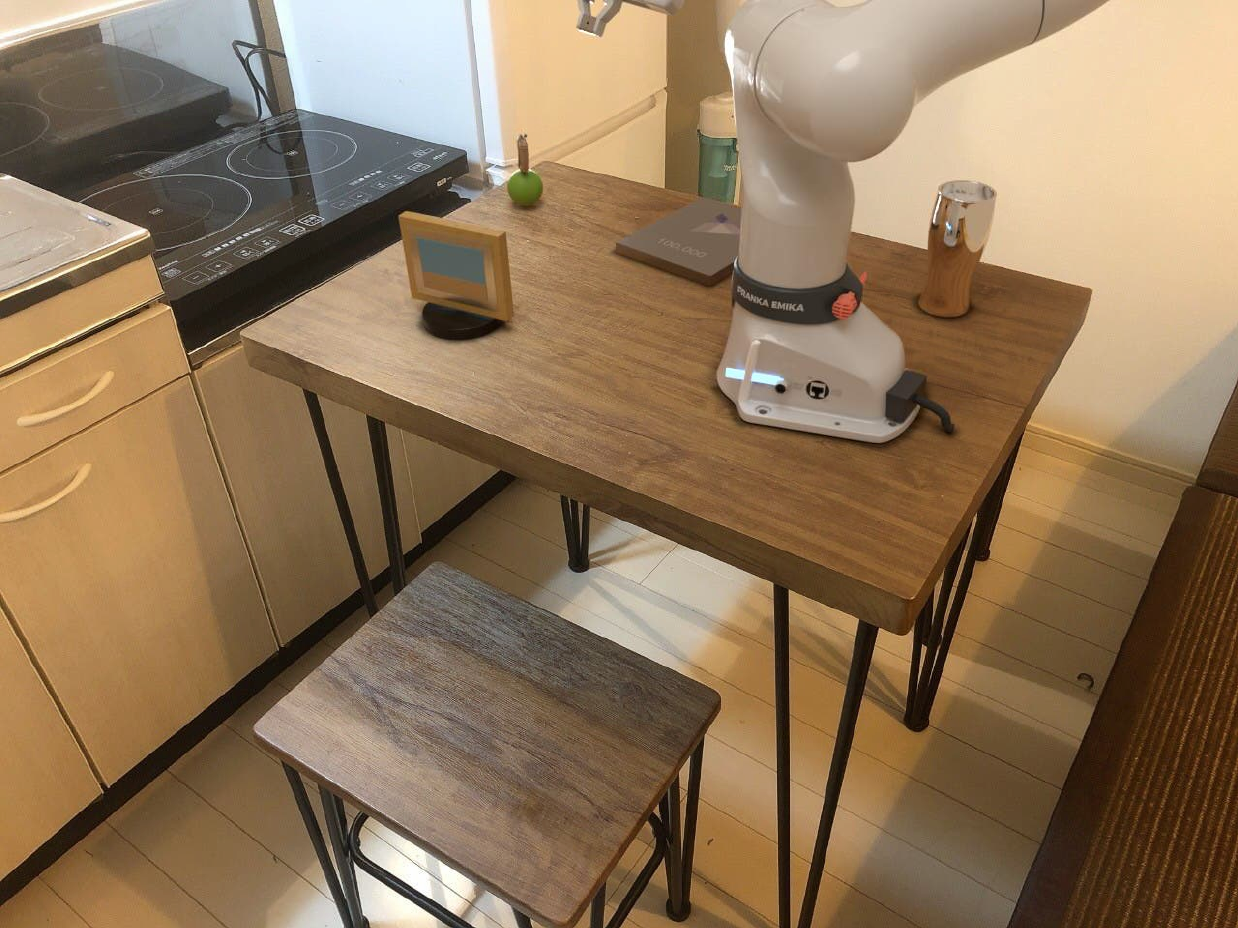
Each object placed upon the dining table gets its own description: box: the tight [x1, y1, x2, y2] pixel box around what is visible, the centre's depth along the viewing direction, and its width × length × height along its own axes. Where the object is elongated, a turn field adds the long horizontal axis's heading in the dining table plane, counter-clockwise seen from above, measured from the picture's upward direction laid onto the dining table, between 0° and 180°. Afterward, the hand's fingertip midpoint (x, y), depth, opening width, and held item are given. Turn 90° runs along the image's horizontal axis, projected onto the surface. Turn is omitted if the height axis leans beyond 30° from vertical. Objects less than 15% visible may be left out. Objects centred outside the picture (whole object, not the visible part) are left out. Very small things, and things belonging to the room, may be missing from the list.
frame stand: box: [421, 302, 504, 341], centre depth 120 cm, size 10×10×2 cm
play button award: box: [615, 196, 741, 287], centre depth 136 cm, size 16×2×20 cm
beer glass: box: [917, 179, 998, 318], centre depth 117 cm, size 7×7×15 cm
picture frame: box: [397, 210, 515, 322], centre depth 116 cm, size 14×2×11 cm, turn 64°
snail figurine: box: [506, 133, 544, 207], centre depth 144 cm, size 5×6×12 cm
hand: (588, 33), depth 117 cm, fingers closed
